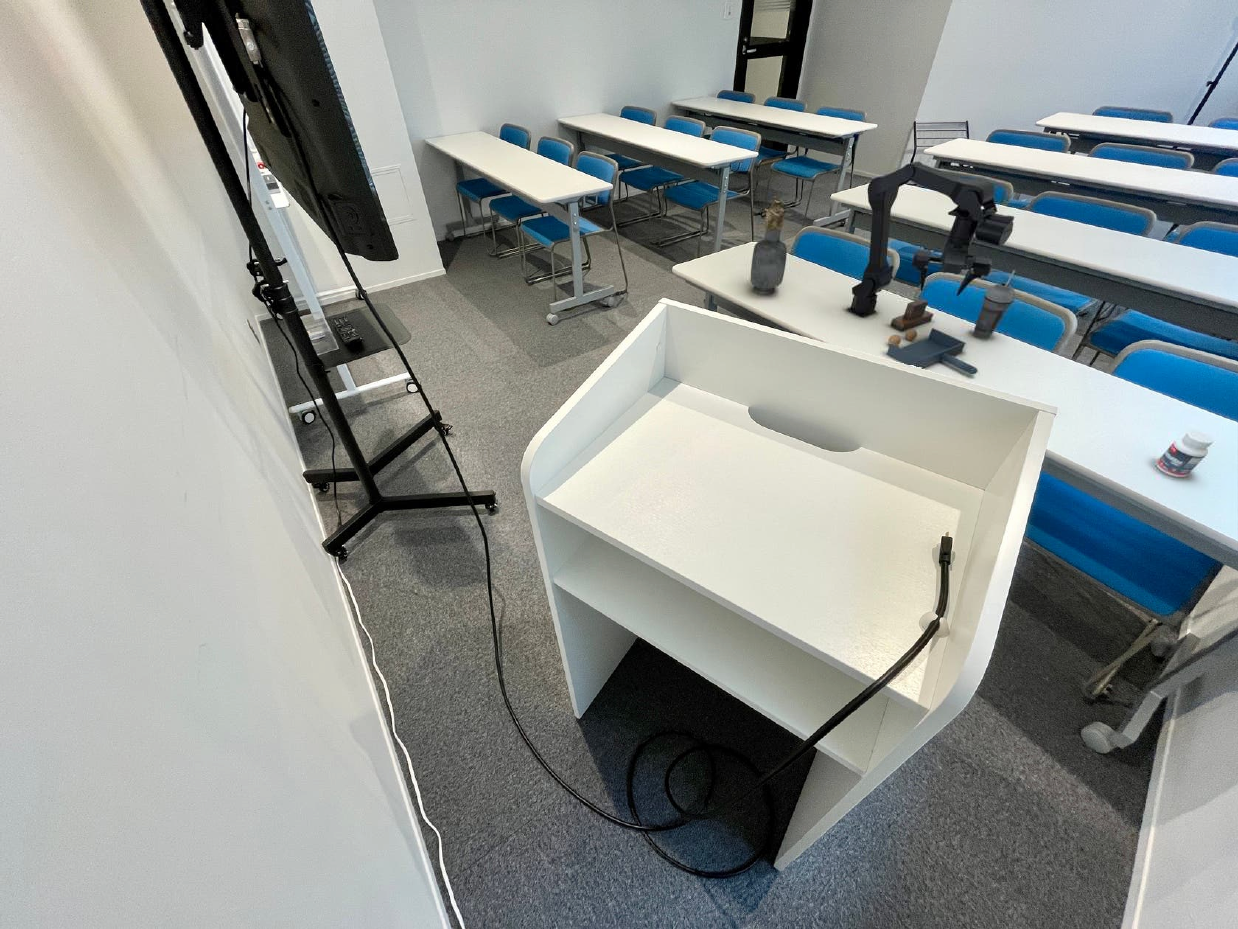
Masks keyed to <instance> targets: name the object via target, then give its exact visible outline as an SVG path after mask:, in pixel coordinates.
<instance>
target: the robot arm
mask: <svg viewBox="0 0 1238 929" xmlns="http://www.w3.org/2000/svg"><path fill="white" fill-rule="evenodd" d="M909 182H912V183H915V184H917V185H919V186H922V187H925V188H927V189H930V190H932V191H934V192H936V193H939V194H942V195H944V196H946V197H948V198H949V199H950V200H951V201H952V202H953V204H955V205H956V207H955V208H953V209H952V210H950V211H948V212H947V215H948V216H952V217H955V218H954V221H953V223H952V226H951V229H950V231H949V234H948V237H947V240H946V242H945V245H944V247H943V249H942V253H941V254H940V256H936V255H935V256H934V255H932V251H931V250H930V251H929V250H922V249H921V250H920V249H917V250H916V251H915V252H914V254H913V257H912V261H911V266H912V267H915V270H917V271H919V274H920V292H922V291H923V290H924V287H925V283H926V277H927V273H928V268H929V264H930V265H931V264H932V265H939V266H940V272H941V273H943V274H947V273H948V274H953V275H960V274H961V273H962V271H963V270H964V271H966V273H965V276H964V277H963V279H962V282H960V285H959V287H958V290H957V293H956V297H959V296H960V294H962V293H963V291H964V290H965V289H966V288H967V286H968V285H969V284H970V283H971V282H973V281H974V280H975V279H981V278H982V277H987V276H989V274H990V272H991V270H992V267H993V266H992V260H991V259H990V258H988V257H981V256H980V257H979V256H977V255H975V254H970V253H969V250H970V247H971V244H972V242H973V239H974V238H975V239H976V240H977V241H978V242H981V243H982V242H983V243H986V244H989V245H994V246H998V247H1002V246H1004V245H1005V244H1006V243H1007V241H1008V240H1009V238H1010V237H1011V235H1012V233H1013V231H1014V229H1013V228H1014V220H1015V216H1014V215H1006V214H1005V215H1004V214H1002V213H1001V214H1000V213H998V208H997V204H996V200H995V187H994V184H993V183H992V182H990V181H987V180H981V179H980V180H979V179H969V178H968V179H967V178H966V179H965V178H960V177H958V176H956V175H952V174H949V173H947V172H945V171H942V170H939V169H937V168H934V167H931V166H929V165H927V164H923V163H922V162H921V161H919V160H918V161H917V160H916V161H914V162H910V163H907V164H905V165H904V166H903V167H900V168H899V169H897V170H895V171H892V172H891V173H887V174H883V175H880V176H877V177H874V178H873V179H872V180H871V181H870V182H869V183H868V186H867V198H868V199H867V201H868V204H869V206H870V209H871V211H872V212H871V213H872V214H871V225H870V226H871V228H870V242H869V253H868V254H869V256H868V263H867V265H866V267H865V269H864V271H863V274H862V277H861V282H859V283H858V284H856V285H854V286H852V287H851V294H852V295H853V298H852V301H851V305H850V307H847V308H846V311H848V312H850V313H852V314H854V315H857V317H861V318H864V317H867V316H870V315H872V314H876V313H877V310H876V306H877V303H878V300H877V299H878V297H879V295H878V294H877V293H880V292H882V290H884V289H885V288H888V286H889V285H890V284H891V281H892V280H893V279H894V276H893V273H894V265H893V264H891V265H890V264H889V262H888V259H887V258H888V247H889V237H890V236H889V235H890V224H891V215H892V214H891V213H892V207H893V205H894V203H895V201H896V200H897V198H898V194H899V189H900V188H901V187H902V186H904V185H906V184H908V183H909ZM982 207H983V208H982Z"/></svg>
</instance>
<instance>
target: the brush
mask: <svg viewBox="0 0 1238 929" xmlns="http://www.w3.org/2000/svg"><path fill="white" fill-rule="evenodd" d="M928 304H929V301H928V300H926V299H924V298H919V299H916V300H914V301H910V302H908V303H907V305H906V307H905V311H904V313H903V314H901V315H899V316H897V317H894V318H891V321H890V324H889V326H890V327H891V328H894V329H895V330H897V331H899V332H901V333H902V332H906V331H907V330H909V329H914V328H916V327H919V326H922V325H924V324H927V323H930V322H931V321H932V319H933V317H934V313H933V312H930V311H928V310H926V309H927V306H928Z"/></svg>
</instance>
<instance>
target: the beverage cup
mask: <svg viewBox="0 0 1238 929" xmlns="http://www.w3.org/2000/svg"><path fill="white" fill-rule="evenodd" d="M1016 271H1017V270H1016V269H1013V270H1012V272H1011V274H1010V276H1009V277H1008V279H1007V281H1006V283H1005V282H1003V283H1002V282H999V283H997V284H994V285H993V286H991V287H990V288H989V289H988V290H987V291H986V293H985V294H984V296H983V299H982V300H983V301H982V304H981V305H982V306H981V309H980V311H979V315H978V318H977V320H976V323H975V326H974V330H973V333H972V335H973V337H975V338H977V339H981V340H989V339H990V338H991V337H992V335H993V334H994V332H995V330H997V327H998V326H999V324H1000V322H1001V321H1002V319H1003V317H1004V315H1005V314H1006V312H1007V311H1008V309H1009V308H1010V307H1011V305H1012V304H1013V303H1014V301H1015V295H1016V291H1015V289H1014V288H1013V286H1012V285H1010V284H1009V283H1010V282H1011V280H1012V278H1013V276H1014V274H1015V273H1016Z"/></svg>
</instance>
